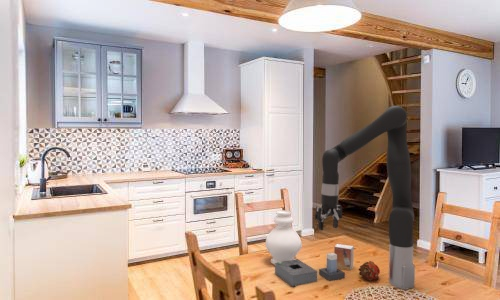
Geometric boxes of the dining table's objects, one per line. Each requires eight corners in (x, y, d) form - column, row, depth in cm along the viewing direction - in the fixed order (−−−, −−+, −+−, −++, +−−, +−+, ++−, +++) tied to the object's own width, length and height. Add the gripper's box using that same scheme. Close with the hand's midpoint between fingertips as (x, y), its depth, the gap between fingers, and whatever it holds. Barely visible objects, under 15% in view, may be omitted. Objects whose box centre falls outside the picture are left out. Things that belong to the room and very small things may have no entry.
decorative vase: (308, 265, 176) (308, 214, 175) (275, 270, 170) (275, 217, 168) (290, 253, 193) (291, 207, 191) (259, 258, 186) (259, 209, 185)
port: (317, 282, 156) (317, 269, 156) (292, 287, 151) (292, 274, 151) (297, 269, 170) (297, 258, 170) (274, 273, 166) (275, 261, 165)
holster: (344, 279, 159) (344, 272, 159) (329, 282, 156) (329, 275, 156) (333, 272, 167) (333, 266, 166) (318, 275, 163) (318, 268, 163)
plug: (336, 277, 160) (337, 254, 160) (330, 278, 159) (331, 255, 159) (332, 274, 163) (332, 252, 163) (326, 275, 162) (326, 253, 162)
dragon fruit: (367, 288, 153) (367, 281, 165) (384, 278, 152) (383, 272, 163) (355, 270, 155) (356, 265, 167) (372, 260, 154) (371, 255, 165)
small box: (333, 268, 172) (333, 246, 171) (336, 264, 177) (336, 243, 176) (350, 271, 168) (351, 249, 168) (353, 267, 173) (353, 245, 173)
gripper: (323, 195, 157) (321, 232, 158) (347, 193, 164) (345, 229, 165) (312, 192, 163) (310, 228, 164) (335, 191, 171) (333, 225, 172)
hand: (328, 228), depth 165 cm, fingers open, 8 cm apart
